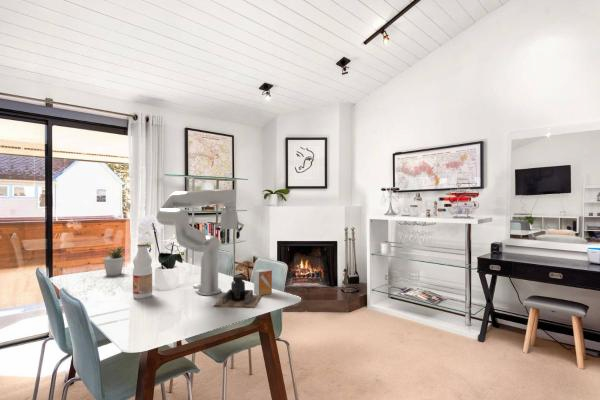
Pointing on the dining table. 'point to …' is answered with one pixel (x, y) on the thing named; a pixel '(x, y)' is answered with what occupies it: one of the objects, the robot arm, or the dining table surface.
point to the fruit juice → (142, 273)
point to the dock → (248, 302)
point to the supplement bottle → (238, 288)
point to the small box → (263, 281)
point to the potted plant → (114, 262)
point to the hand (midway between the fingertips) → (229, 238)
